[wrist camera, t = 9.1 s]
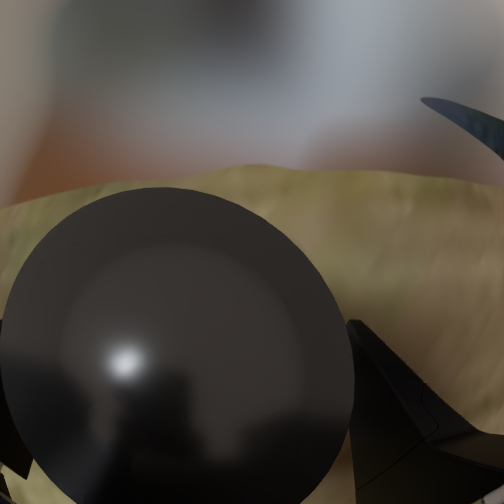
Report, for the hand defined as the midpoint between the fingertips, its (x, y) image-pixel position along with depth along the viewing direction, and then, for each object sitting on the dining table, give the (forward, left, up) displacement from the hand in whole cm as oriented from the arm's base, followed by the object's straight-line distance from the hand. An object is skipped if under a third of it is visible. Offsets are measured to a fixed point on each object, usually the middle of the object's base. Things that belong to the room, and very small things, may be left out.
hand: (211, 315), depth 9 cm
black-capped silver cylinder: (-1, +1, -6) cm, 7 cm away
